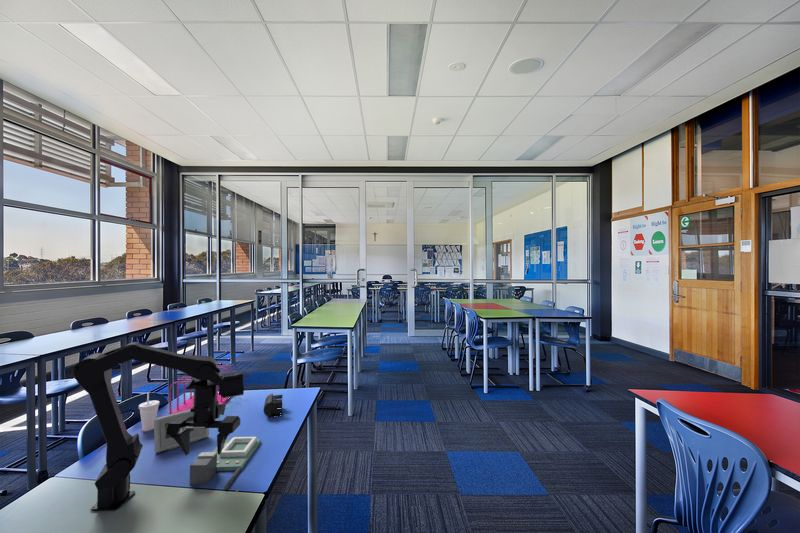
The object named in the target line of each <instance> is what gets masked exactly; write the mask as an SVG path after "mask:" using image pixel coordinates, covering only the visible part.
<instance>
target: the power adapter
mask: <svg viewBox="0 0 800 533" xmlns="http://www.w3.org/2000/svg"><path fill="white" fill-rule="evenodd" d="M277 408H282V409H277ZM280 413H281V414H280ZM282 413H283V394H276V395H275V394H274V393H270V394H268V395H267V396H266V398H265V401H264V406H263V414H264V415H265V416H266V417H268V418H270V417H273V418H275V417H274V416H280V415H282V416H283V414H282ZM280 417H281V416H280Z"/></svg>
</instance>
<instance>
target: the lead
mask: <svg viewBox="0 0 800 533" xmlns="http://www.w3.org/2000/svg"><path fill="white" fill-rule="evenodd" d="M241 471H242V470H241V467H238V469H237V470H234V473H233V474H232V475H231V476H230V478H229V480H228V481H227V482H226V484H225V485H224V487H223V489H224V490H227V489H228V488H229V487H230V486H231V485H232V483H233V482H234V480H235V479H236V477H237V476H238V475H239V473H240V472H241Z"/></svg>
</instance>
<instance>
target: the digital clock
mask: <svg viewBox="0 0 800 533" xmlns="http://www.w3.org/2000/svg"><path fill="white" fill-rule="evenodd" d="M177 417H190V418H191V421H193V412H191V409H189V410H185V411H181V412H177V413H173V414H170V413H169V414H168V415H163V416H159V417H156V419H155V420H154V429H153V439H154V443H153V444H154V446H153V447H154V453H157V454H158V453H162V452H165V451H171V450H173V449H177V448H181V447H180V446H179V444H178V443H177V442H176V441H175V439H174V438H171V437H170V435H166V427H167V425H168V424H169V423H170V422H172V421H173V420H175V419H176V418H177ZM209 435H210V428H191V431H190V444H193V443H196V442H198V441H199V440H203V439H206V438H209Z"/></svg>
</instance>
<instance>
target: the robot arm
mask: <svg viewBox="0 0 800 533" xmlns="http://www.w3.org/2000/svg"><path fill="white" fill-rule="evenodd" d="M129 361H136V362H140V363H146V364H150V365H154V366H158V367H163V368H166V369H172V370H176V371H179V372H181V373H183V374H185V375H186V374H187V377H193V378H192V380H191V379H190V380H189V381H190V382H187V383H186V385H185V390H190V389H192V390H193V395H194V400H193V407H192V408H191V412H193V421H191V418H190V417H177V418H176V419H175V420H173V421H172V422H170V423H169V424H168V425H167V427H166V435H170V437H171V438H174V439H175V441H176V442H177V443H178V444H179V446H180V447H179V448H180V449H181V451H182V452H183V454H184V455H185V456H188V455H189V454H190V450H191V449H190V447H191V445H190V444H191V443H190V431H191V428H209V429H217V432H218V434H216V447H217V451H218V455H220V453H221V452H222V449H223V446H224V444H225V441H226V440H228V439H227V438H228V436H229V435H230V434H233V433H235V431H236V430H237V429H238V427H239V426H241V417H240V416H239V415H227V416H225V417H224V418H223V419H222V420H216V419H219V418H221V417H220V416H221V415H222V416H224V415H225V410H226V404H227V403H225V404H218V400H216V385H218V392H219V395H221V397H223V398H228V397H231V398H233V397H240V396H244V392H245V385H244V374H243V372H236V373H232V374H231V373H230V374H228V375H227V374H224V373H223V372H222V370H221V369H219V368H218V367H219V366H218V367H217V365H218V364H217V361H216V359H215V358H214V357H213V356H210V355H209V356H208V355H198V354H197V355H189V354H182V353H178V352H174V351H169V350H167V349H166V350H165V349H162V348H158V347H154V346H150V345H145V344H142V343H140V342H138V341H133V342H130V343H127V344H126V345H124V346H119V347H117V348H115V349H112V350H109V351H105V352H104V353H102V352H97V353H95V352H94V353H92V354H89V355H88V356H86V357H85V358H83V359H81V360H80V361H79V362H78V363H76V365H75V366H74V367H73V369H72V376H73V377H74V379H75V380H76V382H77V384H78V385H79V387H80V388H82V389H83V390H84V391H85V393H87V394H88V395H89V397H90V401H91V403H92V406H93V409H94V412H95V414H96V417H97V420H98V423H99V426H100V428H101V432H102V434H103V437H104V440H105V443H106V451H105V452H106V453H105V464H104V466H103V468H102V470H101V472H100V473H99V475H98V477H97V478H96V480H95V482H94V485H95V487H96V490H97V493H96V494H97V498H96V499H97V500H96V503H95V504H94V505H93V506H92V507H91V508H90V512H93V511H95V512H96V511H117V510H118V509H119V508H120V507H122V506H123V504H125V503H126V502H127V501H128V500H129V499H130V498H132V496H134V495H135V494H136V491H135V490H130V489H131V475H130V474H131V472H132V471H133V470H134V468H135V467H136V464H137V462H138V459H139V457H140V454H141V450H142V449H143V446H144V445H143V444H142V443H141V441H140V435H139V434H140V433H136V434H134V435H132V434H131V433H129V432H128V430H127V428H126V424H125V422H124V418H123V416H122V413H121V409H120V406H119V404H118V400H117V397H116V395H115V392H114V389H113V386H112V375H113V370H112V369H113V368H116V367H118V366H119V365H121V364H124V363H126V362H129ZM196 379H198V380H196Z"/></svg>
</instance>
